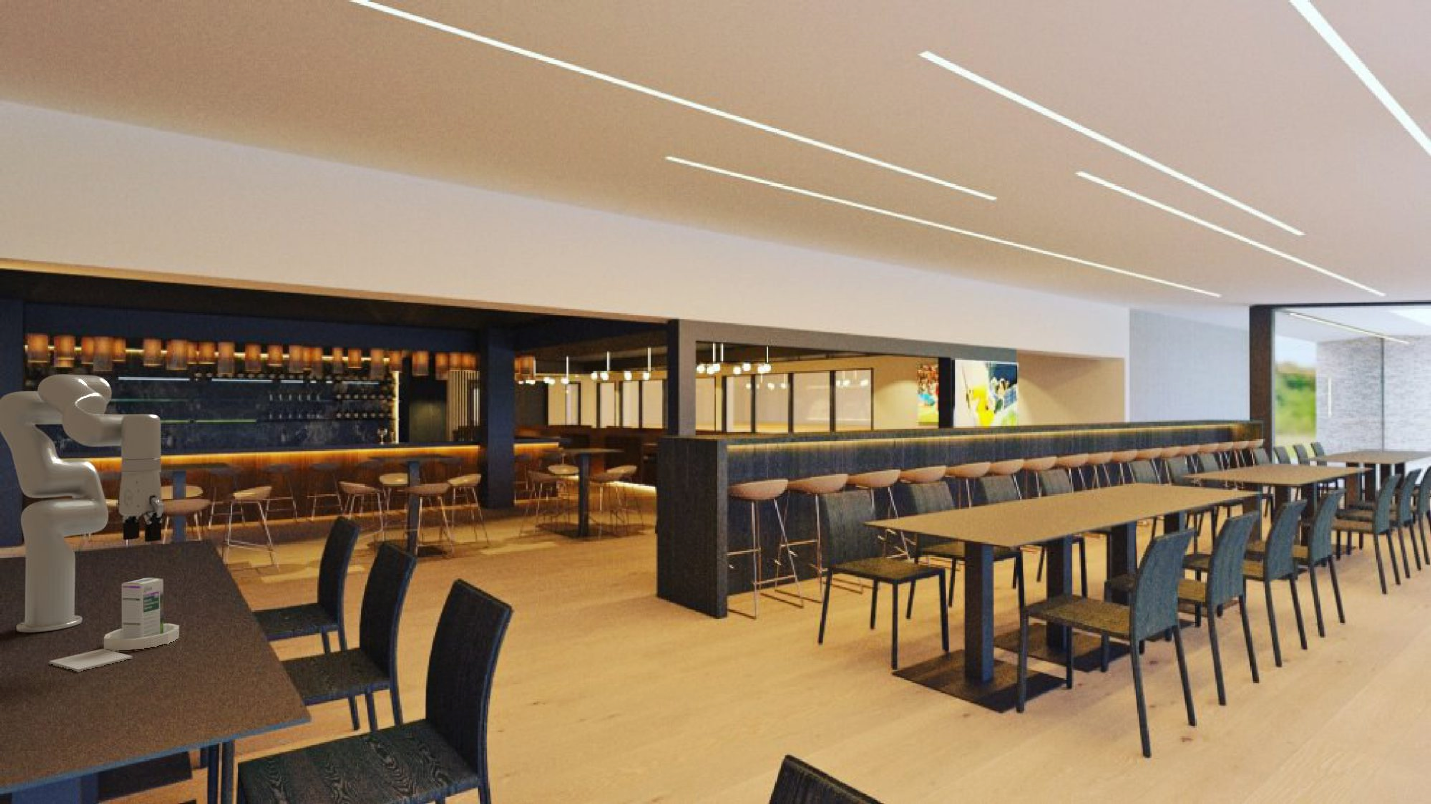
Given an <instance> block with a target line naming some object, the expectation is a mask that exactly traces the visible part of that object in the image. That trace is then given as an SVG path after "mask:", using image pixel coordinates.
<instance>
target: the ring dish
mask: <svg viewBox="0 0 1431 804" xmlns="http://www.w3.org/2000/svg"><path fill="white" fill-rule="evenodd" d="M178 638H180V625H178V624H173V623H163V634H159V635H154V636H150V637H142V638H134V639H122V628H119V629H115V630H113V631H110V632H108V633H106V634H105V635H104V637H103V649H109V650H112V651H114V652H120V651H119V650H131V649H143V650H145V649H144V648H150V647H155V648H158V647H157V646H159V645H162V644H167V645H170V644H171V643H170V642H172V643H173V641H174V642H176V641H177V640H176V639H178ZM175 640H176V641H175ZM178 640H179V639H178ZM169 643H170V644H169ZM159 647H160V646H159ZM150 649H151V648H150ZM116 650H117V651H116Z"/></svg>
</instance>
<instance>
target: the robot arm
mask: <svg viewBox="0 0 1431 804" xmlns="http://www.w3.org/2000/svg"><path fill="white" fill-rule="evenodd" d="M111 399H112V388H111V385H110V384H109V382H108V381H107V380H106V379H105V378H103V377H101V376H98V375H89V374H88V375H87V374H67V373H66V374H63V373H62V374H53V375H49V376H47V377H45V378H43V379H42V380H41V381H40V383H39V384H38V386H37V390H33V391H32V390H31V391H30V390H26V391H24V390H23V391H14V392H10V393H7V394H5V395H3V397H2V396H1V398H0V433H1V436H3V439H4V440H5V442H6V443H7V446H8V448H9V449H10V451H11V454H12V460H13V464H14V467H15V470H16V471H15V472H16V475H17V479H18V483H19V486H20V487H19V488H20V489H21V492H22V493H23V494H24V496H27V497H29V498H34V499H35V498H36V499H37V498H38V499H40V498H41V499H43V498H55V499H48V500H47V499H46V500H40V501H37V502H33V503H31V504H28V506H26V507H25V508H24V509H23V511H22V512H21V515H20V523H21V529H22V534H23V539H24V547H25V589H24V590H25V597H24V599H25V600H24V607H25V608H24V621H22V622H20V623H18V624H17V625H16V631H17V632H19V633H41V632H49V631H56V630H62V629H63V630H64V629H66V628H70V627H71V628H72V627H73V626H77V625H79V624H81V623H82V622H83V617H82V616H80V615H76V614H75V596H76V595H75V591H76V590H75V589H76V588H75V587H76V584H75V583H76V553H75V551H74V549H73V547H72V546H71V545H70V544H69V543H68V542H67V541H66V539H65V537H70V536H71V537H72V536H77V535H87V534H93V533H94V534H95V533H97V532H100V531H102V530H103V529H104V528H106V525H107V524H108V522H109V509H108V505H107V501H106V497H105V493H104V490H103V485H102V483H101V478H100V474H99V472H98V470H97V468H96V466H95V465H94V464H93V463H92V462H90V461H88V460H86V459H81V458H71V459H70V458H68V459H62V458H60V457H59V456H58V454H57V450H56V446H55V443H54V441H53V440H52V439H51V438H50V437H49V435H47V434H46V433H45V432H44V431H42V430H41V429H40V428H38V427H36V425H62V428H63V431H64V433H65V434H66V435H67V436H68V437H69V438H71V439H72V440H74V441H75V442H76V443H78V444H80V445H82V446H86V447H91V448H93V447H94V448H95V447H96V448H97V447H120V448H121V452H120V453H121V454H120V455H121V458H120V459H121V478H120V479H121V480H120V487H119V499H118V500H119V503H118V512H119V514H120V515H121V517H122V520H121V522H122V539H123V540H125V541H127V540H136V539H140V521H138V520H139V517H141V516H142V515H143V518H144V521H145V523H146V524H144V542H145V543H150V542H156V541H157V542H159V541H161V540H162V523H163V517H164V509H165V504H164V503H163V497H162V485H161V484H162V483H161V476H160V473H162V447H161V446H162V444H161V443H162V438H161V437H162V436H161V434H162V431H161V430H162V429H161V428H162V427H161V426H162V425H161V424H162V423H161V418H160V417H159V416H158V415H156V414H149V413H148V414H147V413H145V414H144V413H140V414H138V413H137V414H135V413H134V414H119V413H118V414H113V413H111V414H110V413H109V414H107V413H106V410H107V406H108V404H109V402H111ZM68 496H69V497H72V498H59V497H68ZM56 497H57V498H59V499H57V498H56Z"/></svg>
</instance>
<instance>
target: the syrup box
mask: <svg viewBox="0 0 1431 804" xmlns="http://www.w3.org/2000/svg"><path fill="white" fill-rule="evenodd" d="M163 624H164V579H163V578H159V577H144V578H141V579H137V580H132V581H127V582H122V583H121V629H122V639H134V638H142V637H150V636H154V635H159V634H163Z"/></svg>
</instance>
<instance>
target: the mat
mask: <svg viewBox="0 0 1431 804" xmlns="http://www.w3.org/2000/svg"><path fill="white" fill-rule="evenodd" d="M131 658H132V659H133V655H130V654H129V655H128V654H125V653H120V652H119V651H110V650H106V649H104V648H100V649H97V650H93V651H87V652H83V653H79V654H74V655H69V656H66V657H61V658H57V659H52V660H49V661H48V662H49V665H51V664H53V665H52V666H54V667H58V666H59V668H62V667H64V668H63V669H65V668H66V669H65V670H68V669H72V670H74V671H73V672H75V671H77V672H76V673H82V672H84V671H83V670H86V669H90V670H93V669H92V668H94V669H96V668H95V667H98V668H102V667H105V666H104V665H106V664H110V665H113V664H112V663H114V664H116V663H115V662H118V663H121V662H120V661H122V662H125V661H124V660H126V659H131ZM132 659H131V660H132ZM126 661H127V660H126ZM101 666H102V667H101ZM106 666H107V665H106ZM72 670H71V671H72ZM81 671H82V672H81ZM86 671H87V670H86Z"/></svg>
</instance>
